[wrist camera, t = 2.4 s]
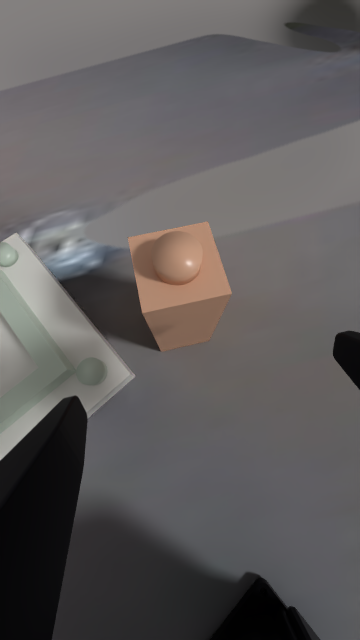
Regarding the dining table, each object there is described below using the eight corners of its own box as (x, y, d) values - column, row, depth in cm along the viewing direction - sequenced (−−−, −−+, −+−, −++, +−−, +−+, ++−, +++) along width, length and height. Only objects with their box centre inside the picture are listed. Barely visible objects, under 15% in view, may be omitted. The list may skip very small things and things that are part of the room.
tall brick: (209, 340, 20) (236, 283, 10) (161, 351, 20) (138, 305, 10) (197, 297, 22) (210, 207, 11) (152, 306, 22) (123, 223, 11)
